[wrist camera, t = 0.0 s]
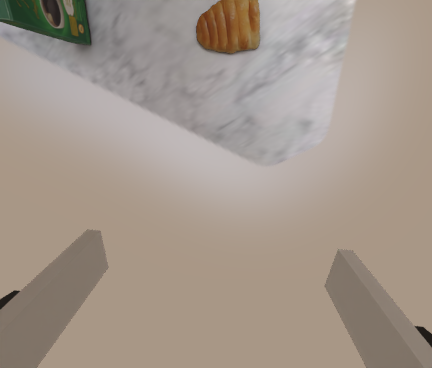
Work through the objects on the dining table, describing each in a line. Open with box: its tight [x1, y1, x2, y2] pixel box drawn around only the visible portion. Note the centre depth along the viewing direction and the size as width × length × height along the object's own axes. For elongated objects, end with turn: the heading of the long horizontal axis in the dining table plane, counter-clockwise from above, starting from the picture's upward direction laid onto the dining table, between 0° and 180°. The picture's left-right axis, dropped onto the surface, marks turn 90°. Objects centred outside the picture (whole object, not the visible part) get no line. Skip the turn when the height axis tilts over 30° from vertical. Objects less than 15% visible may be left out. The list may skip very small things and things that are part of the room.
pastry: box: [196, 0, 260, 53], centre depth 29 cm, size 9×7×4 cm
